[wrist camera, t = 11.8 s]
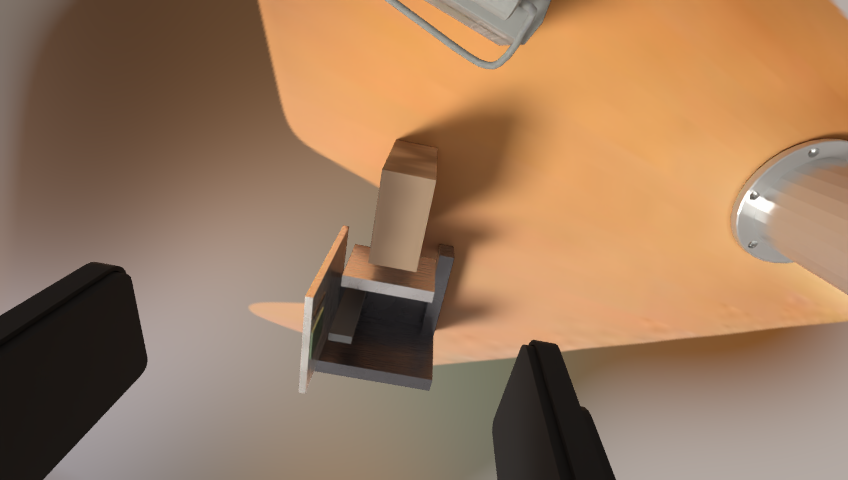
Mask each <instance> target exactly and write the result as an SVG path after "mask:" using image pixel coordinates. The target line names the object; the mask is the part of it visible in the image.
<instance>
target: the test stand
mask: <svg viewBox="0 0 848 480" xmlns="http://www.w3.org/2000/svg"><path fill="white" fill-rule="evenodd" d="M348 229H349V227H348V226H343V227H342V229H341V231H340V233H339V234H338V236H337V238H336V240H335V242H334V244H333V246H332V247H331V249H330V251H329V253H328V255H327V257H326V259H325V261H324V262H323V264H322V266H321V268H320V270H319V272H318V274H317V276H316V277H315V279H314V281H313V283H312V285H311V287H310V289H309V290H308V292H307V294H306V296H305V307H304V322H303V337H302V351H301V366H300V381H299V392H300V393H306V390H307V388H308V385H309V383H310V380H311V378H312V375H313V372H314V371H317V372H323V373H329V374H335V375H341V376H346V377H352V378H358V379H364V380H370V381H375V382H381V383H388V384H393V385H399V386H405V387H411V388H417V389H422V390H428V391H429V389H430V386H431V383H432V369H433V335H434V332H435V328H436V324H437V320H438V317H439V313H440V309H441V305H442V302H443V298H444V294H445V291H446V287H447V283H448V279H449V276H450V272H451V268H452V264H453V261H454V248H453V246H447V245H442V244H440V246H439V250H438V254H437V258H436V262H435V293H434V297H433V301H432V303H430V302H425V301H419V300H414V299H408V298H403V297H397V296H392V295H386V294H381V293H376V292H370V291H367V292H366V295H365V299H364V302H363V305H362V309H361V312H360V315H359V319H358V322H357V326H356V329H355V332H354V336H353V339H352V342H351V344H348V343H343V342H337V341H331V340H328V336H329V331H330V328H331V326H332V323H333V321H334V318H335V316H336V313H337V310H338V308H339V305H340V303H341V300H342V297H343V295H344V292H345V290H346V287H343V286H341V282H342V275H343V271H344V262H345V254H346V246H347V237H348Z"/></svg>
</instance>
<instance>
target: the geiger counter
mask: <svg viewBox="0 0 848 480" xmlns="http://www.w3.org/2000/svg"><path fill="white" fill-rule="evenodd" d="M385 1H387V2H388V3H389V4H391V5H392V6H393V7H395V8H396V9H397V10H399V11H400V12H402V13H403V14H404V15H406V16H407V17H408V18H410V19H411V20H412V21H414V22H415V23H417V24H418V25H419V26H421V27H422V28H423V29H425V30H426V31H427V32H429V33H430V34H432V35H433V36H434V37H436V38H437V39H438V40H440V41H441V42H442V43H444V44H445V45H447V46H448V47H449V48H451V49H452V50H453V51H455V52H456V53H458V54H459V55H461V56H462V57H464V58H465V59H467V60H468V61H470V62H472V63H473V64H475V65H477V66H479V67H482V68H485V69H496V68H498V67H500V66H502V65H503V64H504V63H505V62H506V61H507V60H509V59H510V58H511V56H512V55H513V54H514V52H515V51H516V50H517V48H518V47H519V45H524V44H525V43H526V42H527V41H528V40H529V38H530V37H531V36H532V35H533V33H534V32H535V31H536V30H537V29H538V27H539V26H540V25H541V24H542V23H543V20H544V17H545V15H546V12H547V9H548V7H549V4H550V1H551V0H425V1H426V2H428V3H430V4H431V5H433V6H435V7H436V8H438V9H440V10H441V11H443V12H445V13H446V14H448V15H449V16H451V17H453V18H454V19H456V20H458V21H459V22H461V23H463V24H464V25H466V26H468V27H469V28H471V29H473V30H474V31H476V32H478V33H479V34H481V35H483V36H484V37H486V38H487V39H489V40H491V41H492V42H494V43H496V44H497V45H511V46H510V47H509V48H508V50H507V51H506V53H505V54H503V55H502V56H501V57H500V58H499V59H498V60H497V61H494V62H487V61H484V60H481V59H479V58H477V57H475V56H474V55H472V54H471V53H469V52H468V51H466V50H465V49H463V48H462V47H460V46H459V45H458V44H456V43H455V42H453V41H452V40H451V39H449V38H448V37H447V36H445V35H444V34H443V33H441V32H440V31H438V30H437V29H436V28H434V27H433V26H432V25H430V24H429V23H428V22H426V21H425V20H424V19H422V18H421V17H419V16H418V15H417V14H415V13H414V12H413V11H411V10H410V9H409V8H407V7H406V6H405V5H403V4H402V3H400V2H399V1H398V0H385Z"/></svg>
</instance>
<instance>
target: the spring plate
mask: <svg viewBox="0 0 848 480" xmlns="http://www.w3.org/2000/svg"><path fill="white" fill-rule="evenodd" d="M370 248H371V247H368V246H363V245H357V244H355V246H354V249H353V251H352V254H351V256H350V259H349V260H348V263H347V265H346V268H345V270H344V272H343V275H342V282H341V286H343V287H348V288H354V289H359V290H365V291H370V292H376V293H381V294H386V295H392V296H397V297H403V298H408V299H414V300H419V301H425V302H430V303H432V301H433V297H434V293H435V259H431V258H426V257H420V258H419V262H418V267H417V271H416V272H412V271H407V270H402V269H396V268H391V267H386V266H380V265H375V264H370V263H368V261H369V254H370Z"/></svg>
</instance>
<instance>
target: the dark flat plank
mask: <svg viewBox="0 0 848 480" xmlns="http://www.w3.org/2000/svg"><path fill="white" fill-rule="evenodd" d="M366 292H367V291H365V290H359V289H354V288H348V287H346V290H345V292H344V295H343V297H342V300H341V303H340V305H339V308H338V310H337V313H336V316H335V318H334V321H333V323H332V326H331V328H330V331H329V336H328V340H331V341H337V342H343V343H348V344H351V342H352V339H353V336H354V332H355V329H356V326H357V322H358V319H359V315H360V312H361V309H362V305H363V302H364V299H365V295H366Z"/></svg>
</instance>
